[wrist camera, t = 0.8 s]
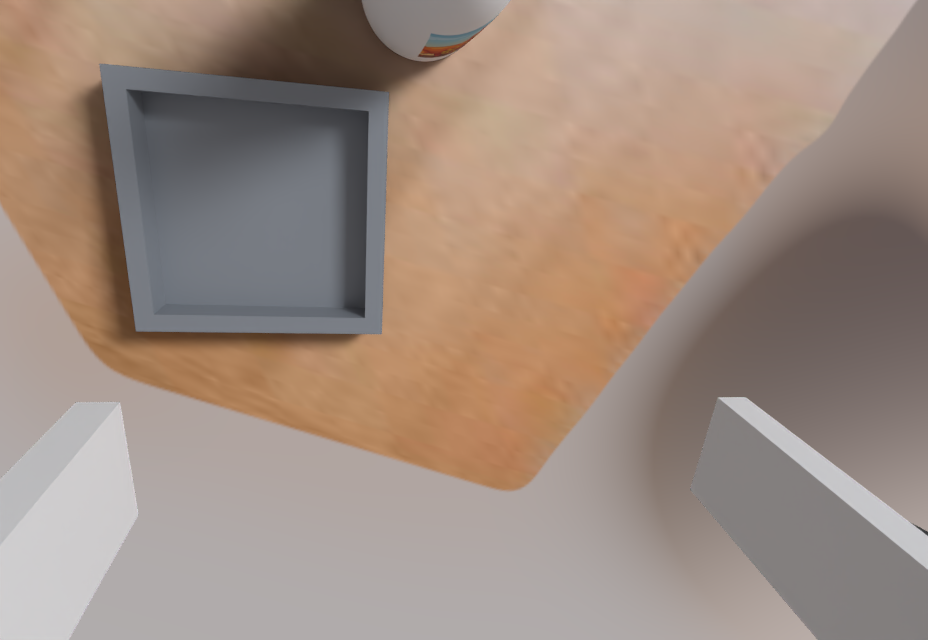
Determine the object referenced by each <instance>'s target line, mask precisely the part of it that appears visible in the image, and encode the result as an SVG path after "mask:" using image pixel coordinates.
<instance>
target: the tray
mask: <svg viewBox="0 0 928 640" xmlns="http://www.w3.org/2000/svg"><path fill="white" fill-rule="evenodd" d="M100 72H101V79H102V86H103V94H104V101H105V108H106V116H107V123H108V130H109V138H110V145H111V152H112V160H113V167H114V174H115V182H116V189H117V196H118V203H119V211H120V218H121V225H122V233H123V240H124V247H125V255H126V262H127V269H128V277H129V284H130V291H131V299H132V306H133V313H134V321H135V328H136V331H142V332H233V333H323V334H382V309H383V275H384V241H385V208H386V174H387V141H388V107H389V92H384V91H373V90H363V89H353V88H343V87H333V86H323V85H312V84H302V83H292V82H282V81H272V80H261V79H251V78H241V77H231V76H221V75H211V74H200V73H190V72H180V71H170V70H160V69H150V68H139V67H129V66H119V65H109V64H100Z"/></svg>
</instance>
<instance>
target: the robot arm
mask: <svg viewBox="0 0 928 640" xmlns="http://www.w3.org/2000/svg"><path fill="white" fill-rule="evenodd" d="M690 490H691V491H692V492H693V494H694V495H695V496H696V497H697V498H698V500H699V501H700V502H701V503H702V504H703V506H704V507H706V509H707V510H708V511H709V513H710V514H711V515H712V516H713V517H714V518H715V520H716V521H717V522H718V523H719V524H720V526H722V528H723V529H724V530H725V531H726V532H727V534H728V535H729V536H730V537H731V538H732V540H733V541H734V542H735V543H736V544H737V545H738V546H739V548H740V549H741V550H742V551H743V553H744V554H745V555H746V556H747V557H748V558H749V560H750V561H751V562H752V563H753V564H754V565H755V567H756V568H757V569H758V570H759V571H760V573H761V574H762V575H763V576H764V577H765V578H766V580H767V581H768V582H769V583H770V584H771V585H772V586H773V588H774V589H775V590H776V591H777V592H778V594H779V595H780V596H781V597H782V598H783V600H784V601H785V602H786V603H787V604H788V605H789V607H790V608H791V609H792V610H793V611H794V612H795V614H796V615H797V616H798V617H799V618H800V619H801V621H802V622H803V623H804V624H805V625H806V626H807V628H808V629H809V630H810V631H811V632H812V634H813V635H814V636H815V637H816V638H817V639H818V640H928V532H927V531H925V530H923V529H922V528H920V527H918V526H916V525H914V524H912V523H911V522H909V521H907V520H906V519H905V518H904V517H902V516H901V515H900V514H898V513H897V512H896V511H894V510H893V509H892V508H890V507H889V506H888V505H886V504H885V503H884V502H883V501H881V500H880V499H878V498H877V497H876V496H874V495H873V494H872V493H871V492H869V491H868V490H867V489H865V488H864V487H863V486H861V485H860V484H859V483H857V482H856V481H855V480H854V479H852V478H851V477H850V476H848V475H847V474H846V473H844V472H843V471H842V470H840V469H839V468H838V467H837V466H835V465H834V464H833V463H831V462H830V461H829V460H827V459H826V458H825V457H823V456H822V455H821V454H819V453H818V452H817V451H815V450H814V449H813V448H812V447H810V446H809V445H807V444H806V443H805V442H804V441H802V440H801V439H800V438H798V437H797V436H795V435H794V434H793V433H792V432H790V431H789V430H788V429H786V428H785V427H784V426H783V425H781V424H780V423H779V422H777V421H776V420H774V419H773V418H772V417H771V416H769V415H768V414H767V413H765V412H764V411H763V410H762V409H760V408H759V407H757V406H756V405H755V404H753V403H752V402H751V401H750V400H748V399H747V398H746V397H730V398H729V397H728V398H727V397H726V398H725V397H724V398H723V397H722V398H718V399H717V402H716V405H715V409H714V412H713V415H712V419H711V422H710V425H709V429H708V432H707V435H706V439H705V442H704V445H703V448H702V452H701V455H700V458H699V462H698V465H697V468H696V471H695V475H694V478H693V481H692V485H691V488H690ZM138 515H139V514H138V508H137V502H136V496H135V490H134V484H133V478H132V471H131V465H130V460H129V453H128V447H127V441H126V435H125V430H124V423H123V417H122V411H121V405H120V402H76V403H75V404H74V405H73V406H72V407H71V408H70V409H69V410H68V411H67V412H66V413H65V414H64V415H63V416H62V417H61V418H60V419H59V420H58V421H57V422H56V423H55V424H54V425H53V426H52V427H51V428H50V429H49V430H48V431H47V432H46V433H45V434H44V435H43V436H42V437H41V439H39V440H38V441H37V442H36V443H35V444H34V445H33V446H32V447H31V448H30V449H29V450H28V452H26V453H25V454H24V455H23V456H22V457H21V458H20V459H19V461H18V462H17V463H16V464H15V465H14V466H13V467H12V468H11V469H10V470H9V471H8V472H7V473H6V474H5V475H4V476H3V477H2V478H1V479H0V640H69V638H70V637H71V635H72V633H73V631H74V630H75V628H76V626H77V624H78V622H79V621H80V619H81V617H82V615H83V613H84V611H85V610H86V608H87V606H88V604H89V603H90V601H91V599H92V597H93V595H94V594H95V592H96V590H97V588H98V587H99V585H100V583H101V581H102V579H103V578H104V576H105V574H106V572H107V570H108V569H109V567H110V565H111V563H112V561H113V560H114V558H115V556H116V554H117V553H118V551H119V549H120V547H121V545H122V544H123V542H124V540H125V538H126V536H127V535H128V533H129V531H130V529H131V527H132V525H133V524H134V522H135V520H136V518H137V517H138Z"/></svg>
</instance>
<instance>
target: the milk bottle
mask: <svg viewBox="0 0 928 640" xmlns="http://www.w3.org/2000/svg"><path fill="white" fill-rule="evenodd" d="M509 2H510V0H362V4H363V8H364V12H365V15H366V17H367V20H368V22H369V24H370V26H371V28H372V29H373V31H374V32H375V34H376V35H377V36H378V38H379V39H380V40H381V41H382V42H383V43H384V44H385V45H386V46H387V47H388V48H389V49H391V50H392V51H394V52H395V53H397V54H399V55H400V56H403V57H405V58H408V59H411V60H415V61H435V60H440V59H442V58H445V57H447V56H449V55H451V54H453V53H455V52H456V51H458V50H459V49H460V48H462V47H463V46H464V45H465V44H467V43H468V42H469V41H470V40H471V39H473V38H474V37H475V36H476V35H477V34H478V33H480V32H481V31H482V30H483V29H484V28H485V27H486V26H487V25H488V24H490V23H491V22H492V21H493V20H494V19H495V18H496V17H497V16H498V14H499V13H500V12H501V11H502V10H503V9H504V8H505V6H506V5H507V4H508V3H509Z"/></svg>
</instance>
